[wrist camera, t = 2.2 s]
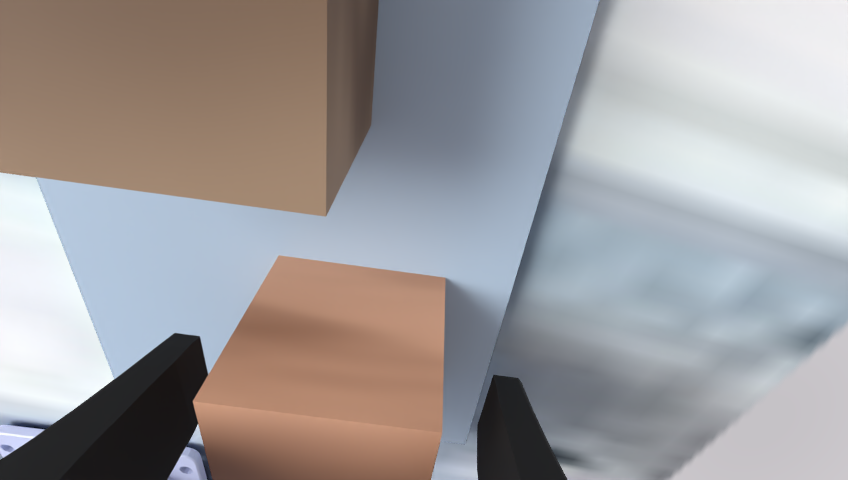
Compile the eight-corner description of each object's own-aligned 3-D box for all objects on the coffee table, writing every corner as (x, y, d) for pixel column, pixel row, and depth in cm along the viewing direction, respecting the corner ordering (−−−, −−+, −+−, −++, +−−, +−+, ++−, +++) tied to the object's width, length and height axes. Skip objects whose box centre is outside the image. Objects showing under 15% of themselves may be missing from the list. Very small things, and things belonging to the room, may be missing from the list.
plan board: (464, 429, 16) (465, 444, 15) (133, 387, 16) (123, 401, 15) (685, -328, 6) (706, -353, 6) (-174, -470, 6) (-233, -511, 5)
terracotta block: (424, 386, 14) (414, 545, 10) (286, 368, 14) (223, 523, 10) (445, 277, 12) (442, 432, 8) (278, 255, 11) (193, 401, 8)
